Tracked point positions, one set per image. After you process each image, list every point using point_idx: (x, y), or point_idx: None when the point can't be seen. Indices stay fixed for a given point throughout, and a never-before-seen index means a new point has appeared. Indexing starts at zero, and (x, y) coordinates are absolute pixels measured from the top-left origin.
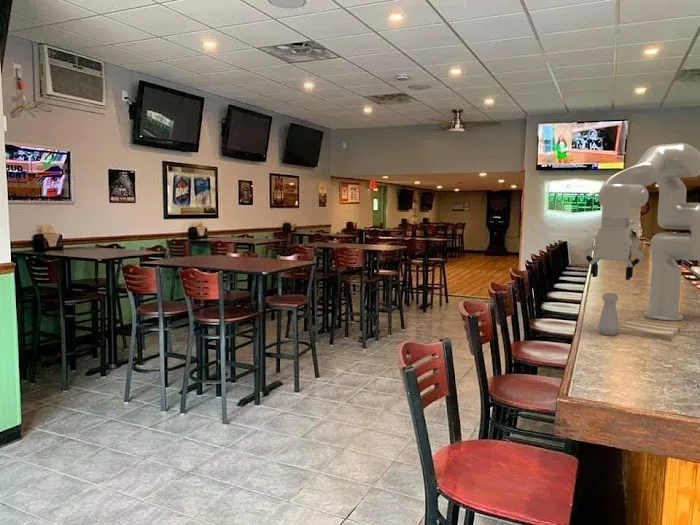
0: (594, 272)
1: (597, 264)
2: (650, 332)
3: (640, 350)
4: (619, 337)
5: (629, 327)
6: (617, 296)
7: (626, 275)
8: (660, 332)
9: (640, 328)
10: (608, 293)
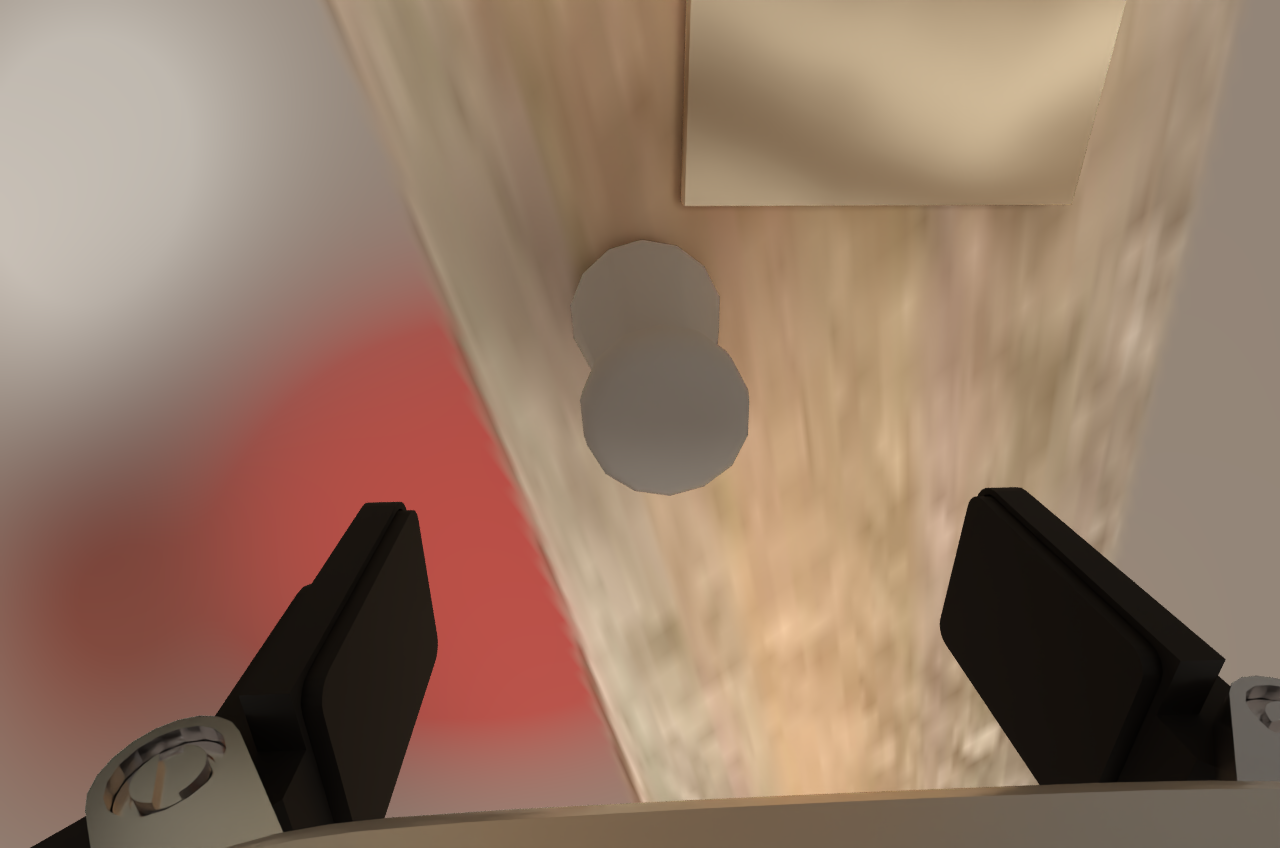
0: (407, 717)
1: (294, 695)
2: (936, 189)
3: (874, 588)
4: (731, 353)
5: (770, 85)
6: (748, 401)
7: (987, 692)
8: (1011, 124)
9: (858, 55)
10: (645, 429)
